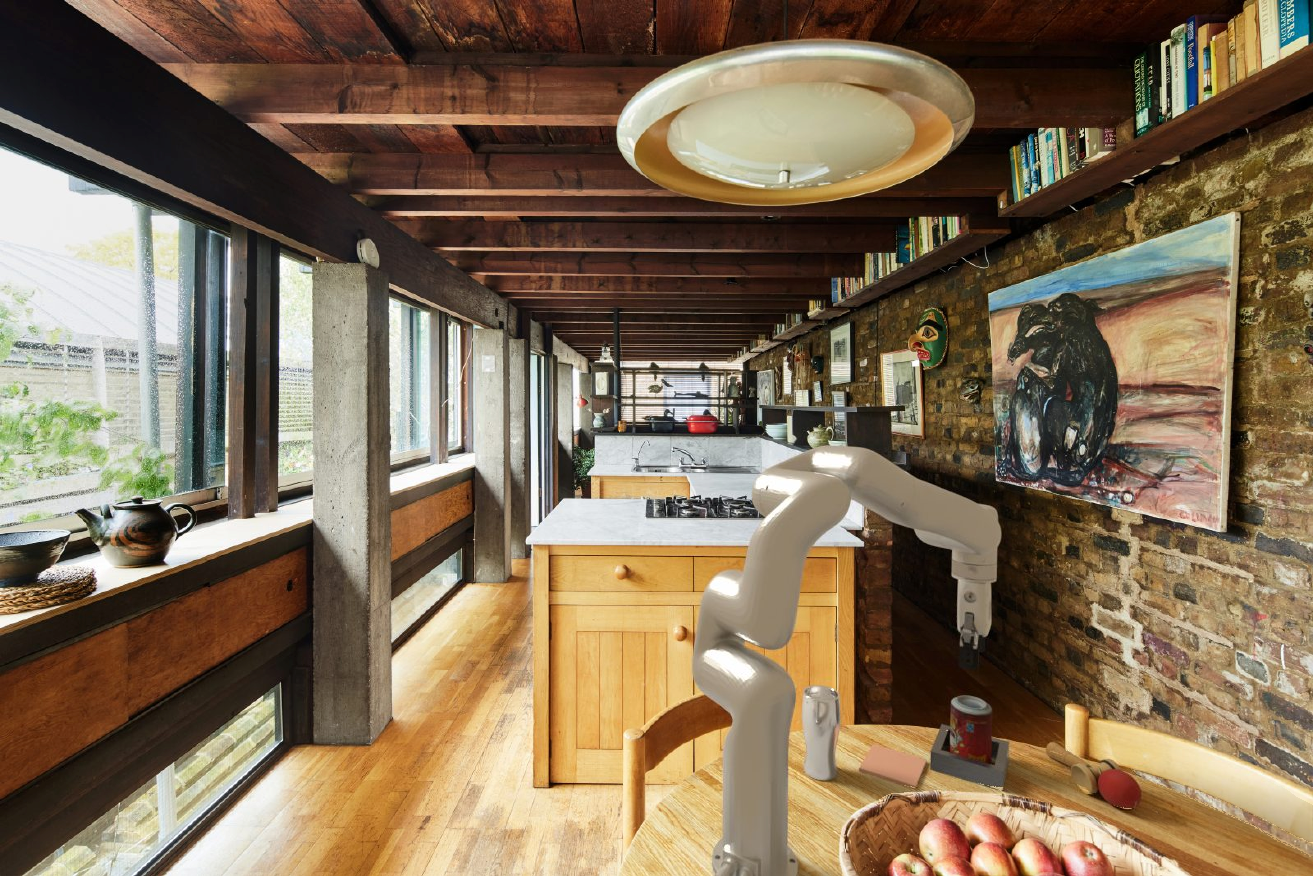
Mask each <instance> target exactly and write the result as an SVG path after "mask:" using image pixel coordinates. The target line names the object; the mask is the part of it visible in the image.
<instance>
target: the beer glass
mask: <svg viewBox="0 0 1313 876" xmlns="http://www.w3.org/2000/svg"><path fill="white" fill-rule="evenodd" d="M802 693H803V694H802V703H801V722H802V730H803V735H804V741H805V758H804V763H803V770H804V773H805V775H807V776H808V777H810V778H812V779H814V780H818V781H822V782H823V781H825V782H826V781H827V782H828V781H831V780H834V779H835V778H837V775H838V767H837V759H836V750H837V744H838V739H839V735H840V730H841V729H840V728H841V701H840V699H841V698H840V696H841V695H840V693H839V691H837V690H836V689H835V688H833V687H830V686H826V685H821V684H820V685H819V684H816V685H814V684H813V685H809V686H806V687H804V689H803V690H802Z"/></svg>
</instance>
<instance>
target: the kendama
mask: <svg viewBox="0 0 1313 876" xmlns="http://www.w3.org/2000/svg"><path fill="white" fill-rule="evenodd" d="M1066 750H1067V749H1066V748H1065V747H1063V746H1061V745H1060V744H1058V743H1057V742H1054V741H1051V742H1049V743H1048V744H1047V745H1046V747H1045V753H1046V755H1047V756H1048V757H1049V758H1051V759H1052V760H1053V759H1054V760H1055V761H1057V762H1060V763H1061V764H1064V765H1066V766H1068V767H1070V773H1071V775H1070V776H1071V778H1072V779H1073V782H1074V784H1075V785H1076V784H1078V785H1080V786H1082V787H1085V788H1086V789H1087V790H1088V791H1089V793H1095V794H1097V792H1098V791H1099V792H1100V795H1101V797H1102V798H1103V799H1104V800H1105V801H1106V802H1107V801H1108V802H1109V803H1108V802H1107V803H1108V804H1110V803H1111V804H1113V805H1115V806H1118V807H1122V808H1123V807H1124V808H1134V809H1135V808H1136V807H1137V806H1138V805H1139V804H1140V802H1141V800H1142V796H1143V795H1142V789H1141V787H1140V785H1139V783H1138V782H1137V780H1136V779H1135V778H1134V777H1133V776H1132V775H1130V774H1129V773H1128V772H1127V771H1124V770H1122V768H1121V766H1120V765H1119V764H1118V763H1117V762H1116V761H1115V760H1114V759H1111V758H1104V759H1101V761H1100V762H1099V765H1098V766H1094V767H1093V766H1092V765H1090V764H1088V763H1087V762H1086V761H1085V760H1083V759H1081V758H1080V757H1079V756H1077V755H1076V754H1074V753H1072V752H1070V750H1067V751H1066ZM1050 751H1054V752H1057V753H1058V754H1057V753H1053V752H1050ZM1060 754H1062V755H1060ZM1111 804H1110V805H1111ZM1113 805H1112V806H1113ZM1115 806H1114V807H1115Z"/></svg>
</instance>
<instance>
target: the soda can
mask: <svg viewBox="0 0 1313 876" xmlns="http://www.w3.org/2000/svg"><path fill="white" fill-rule="evenodd" d="M949 726H950V747H949V753H953V754H956V755H960V756H963V757H967V758H970V759H974V760H977V761H981V762H985V763H988V764H991V762H992V758H991V747H992V745H991V743H992V737H993V736H992V735H993V734H992V733H993V731H992V730H993V729H992V727H993V708H992V706H991V705H990V704H989V703H988V702H986V701H985V700H983V699H982V698H980V697H976V696H972V695H965V694H964V695H963V694H962V695H959V696H956V697H953V698H952V699H951V701H950V725H949Z"/></svg>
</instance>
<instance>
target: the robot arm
mask: <svg viewBox="0 0 1313 876" xmlns="http://www.w3.org/2000/svg"><path fill="white" fill-rule="evenodd" d="M751 501H752V504H753V507H754V508H755V510H756V512H758V513H759V514H760V515H761V516H762V517H764V518H763V520H762V521H761V522H760V523H759V524H758V525H757V527H756V529H755V530H754V532H753V533H752V535H751V537H750V540H749V543H748V547H747V550H746V551H747V552H746V557H745V561H744V567H743V571H742V570H740V569H725V570H722V571H720V572H718V573H717V574H716V575H714V576H713V577H712V579H710V581H709V582H708V583H707V584H706V587H705V589H704V590H703V594H702V596H701V600H700V605H699V611H698V617H697V625H696V631H695V638H694V645H693V652H692V660H691V671H692V678H693V681H694V684H695V685H696V686H697V688H698V689H699V691H700V692H702V693H703V694H704V696H706V697H708V699H710V700H711V701H713V702H715V703H716V704H717V705H719V706H721V707H722V708H723V709H724V710H725V711H727V713H729V714H730V715H731V717H732V723H731V726H730V728H729V729H728V732H727V733H726V735H725V737H724V741H723V747H722V838H721V839H719V841H718V842H717V843H716V844H715V846H714V847H713V849H712V853H711V867H712V869H713V872H714V876H799V864H798V863H799V862H798V859H797V856H796V854H795V852H794V851H793V850H792V848H791V847H790V846H789V845H788V838H789V835H788V834H789V833H788V831H789V828H788V827H789V821H788V820H789V819H788V818H789V745H790V734H791V733H790V732H791V727H792V721H793V716H794V712H795V708H796V702H797V690H796V685H795V681H794V680H793V678H792V676H791V675H790V673H789V672H788V671H787V670H786V669H785V668H784V666H782V665H780V664H779V663H778V662H776V661H775V660H774V659H771V658H769V657H768V656H765V655H764V654H762V653H760V652H758V651H756V650H754V649H751V648H750V647H748V646H746V645H745V644H746V642H747V643H749V644H751V645H752V646H753V645H754V646H756V647H758V648H760V649H764V650H768V651H777V650H780V649H783V648H784V647H785V646H788V644H789V643H790V641H791V639H792V637H793V634H794V631H795V627H796V622H797V616H798V611H799V610H798V609H799V601H800V596H801V595H800V594H801V587H802V581H803V575H804V569H805V563H806V560H807V557H808V555H809V552H810V551H811V550H812V548H813V547H814V545H815V544H816V543H817V541H818V540H820V538H821V537H823V535H825V534H826V533H828V532H829V531H830V530H831V529H833V528H835V527H836V526H837V525H839V523H840V522H842V521H843V520H844V518H845V517H846V516H847V513H848V512H849V509H850V506H851V502H852V501H854V502H856V503H857V504H859V505H861V506H863V507H864V508H867V509H868V510H870V511H872V512H874V513H875V514H877V515H879V516H881V518H884V519H886V520H887V521H890V522H891V523H894V524H897V525H900V526H903V527H906V528H910V529H913V530H914V532H915V535H916V536H917V538H919V540H920V541H922V542H923V543H924V544H925V543H926V544H927V545H930V546H934V547H938V548H943V549H945V550H946V549H947V550H951V551H952V552H951V577H952V578H954V579H956V580H957V601H956V602H957V603H956V607H957V609H956V611H957V612H956V613H957V615H956V618H957V619H956V623H957V631H958V632H959V633H960V638H959V646H958V667H959V668H961V669H965V670H972V671H976V672H977V671H979V665H980V664H979V661H980V660H979V659H980V653H984V652H985V651H986V650H985V649H986V645H985V644H986V637H987V636H988V635H989V632H990V630H991V626H992V583H995V582H997V578H998V575H997V572H998V571H997V568H998V547H999V545H1000V543H1001V540H1002V528H1001V525H1000V522H999V515H998V511H997V509H996V508H995V507H993V506H991V505H987V504H982V503H977V502H975V501H973V500H971V499H969V498H967V497H964V496H962V495H960V494H957V493H955V492H953V491H949V490H947V489H944V488H941V487H940V486H938V485H935V484H932V483H929V482H928V481H925V480H923V479H922V480H921V479H919V478H917V477H915V476H914V475H912V474H911V473H909V472H907V471H906V470H904V469H902V468H901V467H900V466H898V465H897V464H895V463H893V462H892V461H890V460H889V459H887V458H885V457H884V456H882V455H881V454H879V453H878V452H875V451H874V450H871V449H869V448H866V447H860V446H859V447H858V446H846V445H845V446H844V445H831V444H829V445H819V446H817V447H814V448H812V449H808V450H806V451H803V452H801V453H799V454H797V455H795V456H793V457H790V458H788V459H785V460H783V461H781V462H779V463H777V464H774V465H772V466H770V467H768V468H766V469H765V470H763V471H762V472H761V473H760V474H759V475H758V476H757V478H756V479H755V481H754V483H753V486H752V489H751Z"/></svg>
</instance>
